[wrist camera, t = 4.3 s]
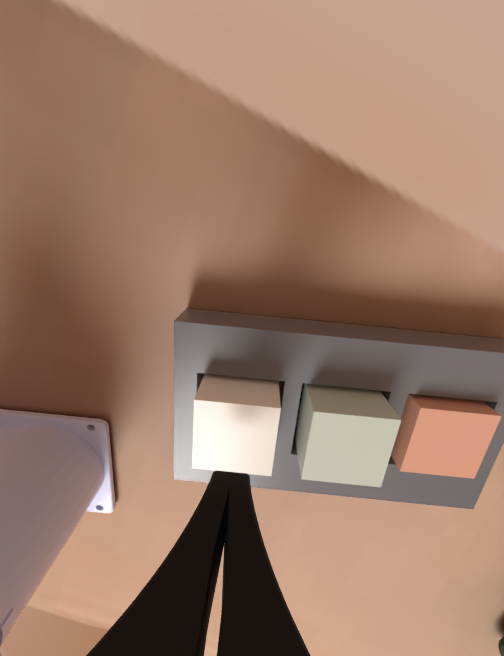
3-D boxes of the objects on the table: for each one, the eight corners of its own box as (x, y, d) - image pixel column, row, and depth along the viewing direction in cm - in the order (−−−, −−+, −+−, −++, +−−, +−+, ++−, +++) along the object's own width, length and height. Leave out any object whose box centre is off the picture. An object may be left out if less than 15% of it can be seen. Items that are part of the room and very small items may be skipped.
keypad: (184, 449, 20) (173, 479, 17) (187, 308, 16) (174, 321, 14) (447, 475, 20) (473, 509, 17) (502, 338, 16) (542, 356, 14)
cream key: (203, 429, 17) (191, 468, 14) (206, 369, 16) (193, 399, 13) (270, 435, 17) (271, 476, 14) (277, 376, 16) (280, 408, 13)
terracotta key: (378, 434, 18) (400, 471, 16) (394, 378, 17) (420, 407, 14) (441, 440, 18) (474, 478, 15) (462, 385, 17) (501, 416, 14)
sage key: (294, 438, 17) (301, 479, 14) (304, 379, 16) (313, 411, 13) (361, 444, 17) (381, 487, 14) (376, 386, 16) (401, 420, 13)
